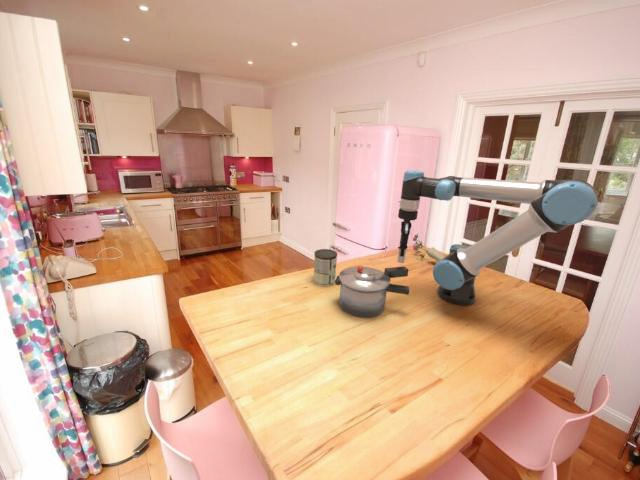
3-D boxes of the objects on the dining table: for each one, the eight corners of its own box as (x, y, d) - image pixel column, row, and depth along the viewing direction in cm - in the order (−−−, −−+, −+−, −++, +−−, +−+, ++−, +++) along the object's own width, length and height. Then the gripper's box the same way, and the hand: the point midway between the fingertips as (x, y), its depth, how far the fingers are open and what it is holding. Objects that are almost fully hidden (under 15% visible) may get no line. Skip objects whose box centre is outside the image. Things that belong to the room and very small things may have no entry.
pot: (330, 312, 114) (332, 286, 110) (338, 290, 131) (340, 267, 127) (405, 325, 108) (410, 298, 105) (404, 300, 125) (408, 277, 121)
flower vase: (446, 288, 154) (401, 252, 179) (464, 278, 157) (417, 244, 183) (450, 272, 146) (402, 236, 172) (468, 262, 150) (419, 228, 176)
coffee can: (314, 275, 144) (315, 248, 139) (335, 277, 143) (337, 249, 139) (311, 285, 134) (313, 256, 130) (334, 287, 133) (336, 258, 129)
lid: (350, 295, 105) (351, 282, 103) (332, 271, 122) (333, 260, 121) (419, 287, 113) (421, 275, 111) (393, 266, 130) (394, 255, 129)
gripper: (398, 204, 129) (391, 255, 136) (399, 211, 117) (391, 266, 124) (417, 206, 127) (408, 257, 135) (419, 213, 115) (410, 269, 123)
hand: (400, 262), depth 130 cm, fingers closed
